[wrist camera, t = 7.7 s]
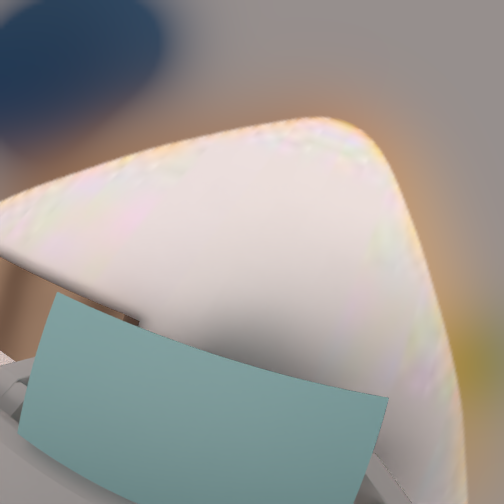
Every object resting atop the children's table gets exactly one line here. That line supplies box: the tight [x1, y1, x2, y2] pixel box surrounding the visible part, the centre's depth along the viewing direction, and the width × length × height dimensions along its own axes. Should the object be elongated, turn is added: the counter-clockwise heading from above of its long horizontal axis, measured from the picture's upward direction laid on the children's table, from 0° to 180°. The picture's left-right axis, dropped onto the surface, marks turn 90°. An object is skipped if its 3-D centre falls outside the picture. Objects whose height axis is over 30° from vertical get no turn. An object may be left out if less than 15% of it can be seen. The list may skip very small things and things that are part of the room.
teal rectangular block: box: [17, 292, 389, 504], centre depth 9 cm, size 6×3×11 cm, turn 73°
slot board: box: [0, 257, 139, 362], centre depth 15 cm, size 15×16×2 cm
